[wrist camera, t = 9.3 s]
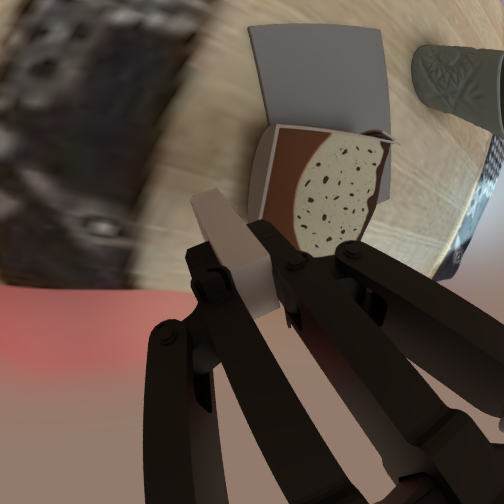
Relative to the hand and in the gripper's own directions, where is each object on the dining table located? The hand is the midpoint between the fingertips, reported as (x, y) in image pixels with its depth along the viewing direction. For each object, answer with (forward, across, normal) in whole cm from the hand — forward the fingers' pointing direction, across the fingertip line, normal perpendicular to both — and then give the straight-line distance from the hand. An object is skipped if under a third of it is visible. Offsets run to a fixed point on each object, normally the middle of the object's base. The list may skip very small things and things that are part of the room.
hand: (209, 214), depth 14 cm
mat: (+7, +14, +1) cm, 16 cm away
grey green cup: (+8, +30, +6) cm, 32 cm away
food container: (+6, +4, -1) cm, 7 cm away
